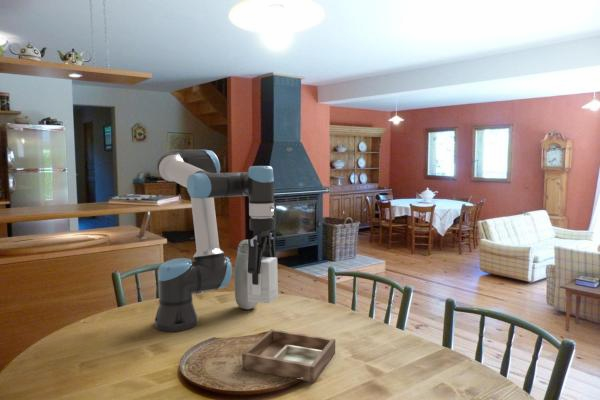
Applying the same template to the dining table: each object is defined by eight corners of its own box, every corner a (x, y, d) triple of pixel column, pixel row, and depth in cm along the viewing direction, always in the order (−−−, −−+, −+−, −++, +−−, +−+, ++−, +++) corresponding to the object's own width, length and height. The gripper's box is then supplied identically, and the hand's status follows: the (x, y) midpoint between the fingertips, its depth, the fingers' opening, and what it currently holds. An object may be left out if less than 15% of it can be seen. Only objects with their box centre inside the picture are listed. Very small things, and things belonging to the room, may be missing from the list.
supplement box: (278, 297, 142) (278, 257, 141) (269, 304, 135) (268, 262, 134) (257, 295, 144) (256, 255, 143) (246, 301, 137) (246, 260, 136)
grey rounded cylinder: (233, 305, 187) (232, 238, 184) (258, 303, 190) (257, 237, 187) (236, 313, 178) (235, 242, 175) (262, 311, 180) (261, 241, 177)
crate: (242, 368, 132) (242, 353, 131) (271, 342, 150) (271, 329, 150) (313, 382, 124) (314, 366, 123) (335, 353, 142) (335, 339, 142)
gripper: (257, 221, 127) (258, 301, 129) (286, 213, 146) (287, 283, 148) (233, 220, 130) (235, 299, 131) (265, 213, 149) (266, 281, 150)
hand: (263, 290), depth 139 cm, fingers closed on supplement box, 7 cm apart
